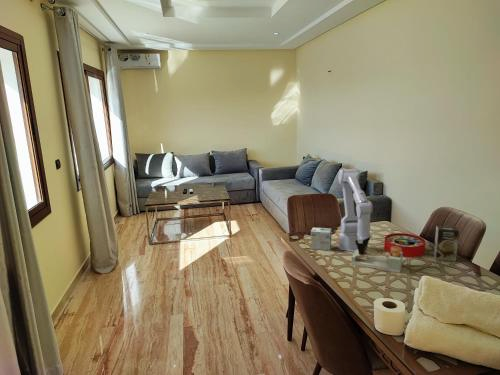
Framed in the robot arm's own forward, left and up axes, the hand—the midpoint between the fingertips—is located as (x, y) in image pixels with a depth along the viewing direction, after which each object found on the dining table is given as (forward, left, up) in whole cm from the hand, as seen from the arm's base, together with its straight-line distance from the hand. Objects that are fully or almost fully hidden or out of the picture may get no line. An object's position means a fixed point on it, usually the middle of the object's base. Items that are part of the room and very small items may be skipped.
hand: (362, 251), depth 171 cm
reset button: (+15, 0, -1) cm, 15 cm away
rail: (+7, 0, -5) cm, 9 cm away
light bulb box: (-24, +9, -6) cm, 27 cm away
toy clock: (+17, +24, -6) cm, 30 cm away
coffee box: (+36, +21, -6) cm, 42 cm away
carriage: (0, 0, -3) cm, 3 cm away
